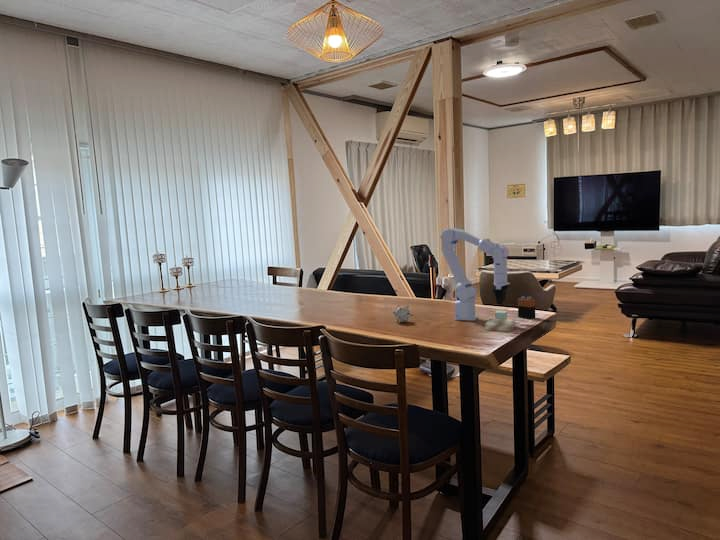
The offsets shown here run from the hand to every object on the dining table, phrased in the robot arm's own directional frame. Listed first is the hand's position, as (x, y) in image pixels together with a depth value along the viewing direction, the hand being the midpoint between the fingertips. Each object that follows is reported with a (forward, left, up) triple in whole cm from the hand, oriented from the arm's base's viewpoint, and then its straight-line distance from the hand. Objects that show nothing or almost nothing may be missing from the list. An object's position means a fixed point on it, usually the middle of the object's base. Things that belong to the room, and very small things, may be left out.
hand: (500, 302), depth 228 cm
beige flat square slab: (+1, -11, -10) cm, 15 cm away
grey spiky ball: (-44, -9, -9) cm, 46 cm away
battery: (+10, +12, -9) cm, 18 cm away
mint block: (0, 0, -9) cm, 9 cm away
